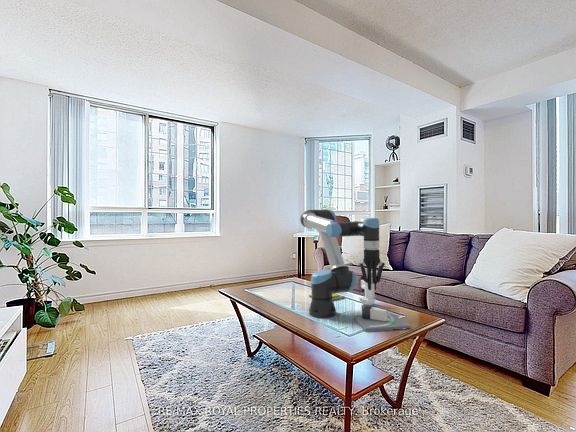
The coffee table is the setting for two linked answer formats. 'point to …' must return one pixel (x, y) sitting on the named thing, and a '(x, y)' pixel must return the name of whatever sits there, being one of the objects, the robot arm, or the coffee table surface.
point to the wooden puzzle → (334, 296)
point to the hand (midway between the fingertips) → (372, 296)
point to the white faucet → (366, 294)
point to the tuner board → (381, 323)
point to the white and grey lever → (374, 313)
